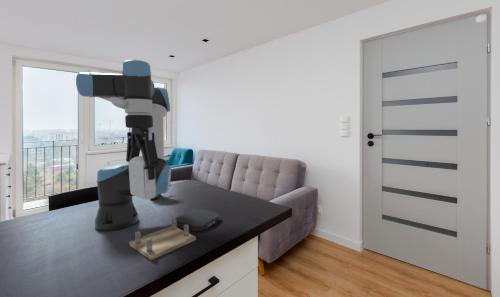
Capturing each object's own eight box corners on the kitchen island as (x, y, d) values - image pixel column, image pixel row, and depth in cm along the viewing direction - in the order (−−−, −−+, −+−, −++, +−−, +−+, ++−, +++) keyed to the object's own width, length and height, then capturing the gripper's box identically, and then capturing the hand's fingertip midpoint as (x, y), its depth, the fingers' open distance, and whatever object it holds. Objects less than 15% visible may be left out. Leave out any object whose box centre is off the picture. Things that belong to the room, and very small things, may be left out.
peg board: (129, 245, 79) (128, 231, 78) (172, 228, 91) (172, 216, 90) (150, 260, 70) (150, 244, 69) (196, 240, 82) (195, 226, 81)
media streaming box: (195, 213, 107) (195, 207, 107) (223, 219, 100) (222, 212, 100) (170, 226, 94) (170, 218, 94) (200, 233, 87) (200, 225, 87)
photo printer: (128, 194, 76) (126, 155, 75) (141, 191, 80) (139, 154, 79) (144, 201, 70) (142, 158, 69) (158, 197, 73) (156, 157, 72)
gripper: (112, 115, 78) (116, 183, 80) (142, 112, 62) (146, 197, 64) (136, 115, 83) (139, 179, 85) (169, 113, 67) (172, 191, 70)
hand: (142, 187), depth 75 cm, fingers closed on photo printer, 10 cm apart
